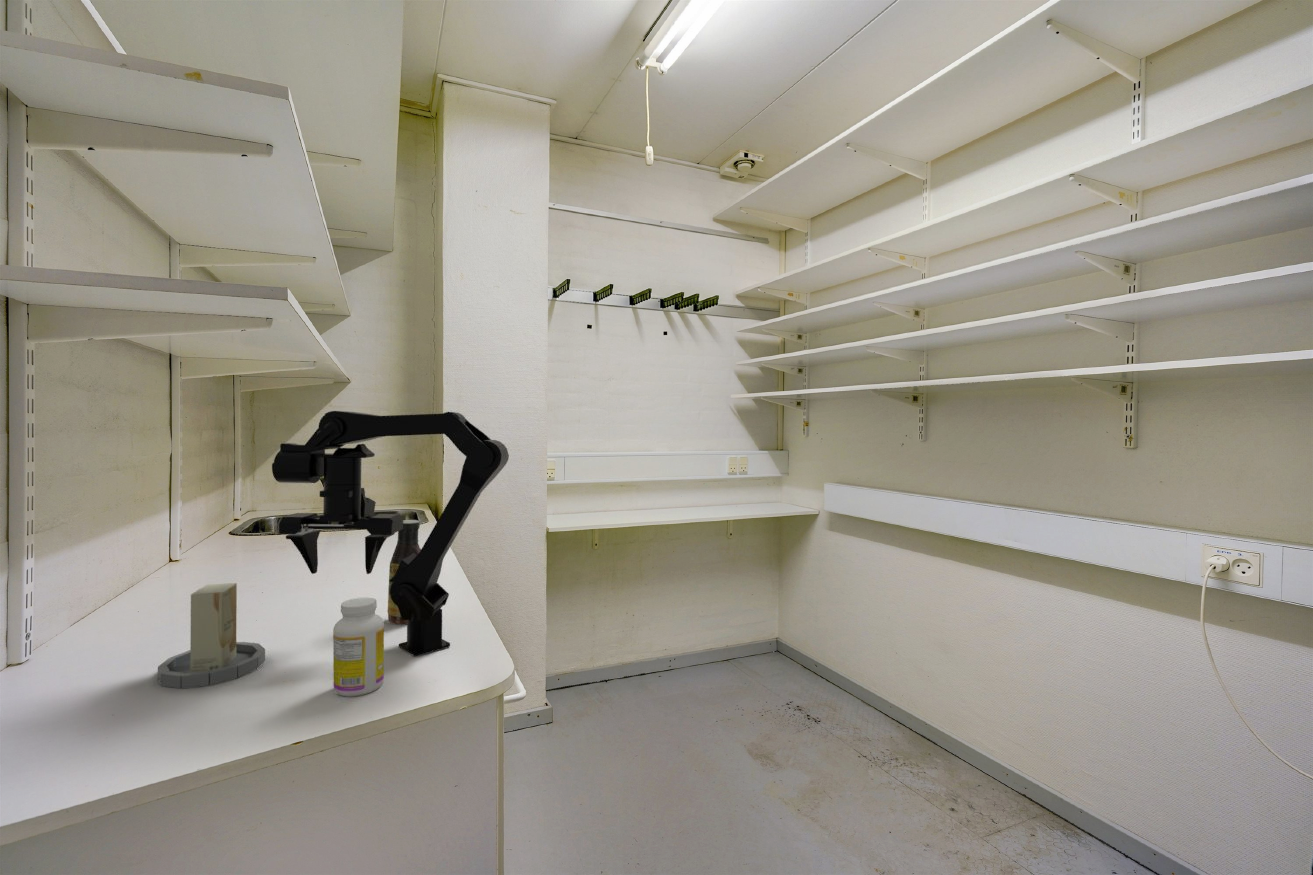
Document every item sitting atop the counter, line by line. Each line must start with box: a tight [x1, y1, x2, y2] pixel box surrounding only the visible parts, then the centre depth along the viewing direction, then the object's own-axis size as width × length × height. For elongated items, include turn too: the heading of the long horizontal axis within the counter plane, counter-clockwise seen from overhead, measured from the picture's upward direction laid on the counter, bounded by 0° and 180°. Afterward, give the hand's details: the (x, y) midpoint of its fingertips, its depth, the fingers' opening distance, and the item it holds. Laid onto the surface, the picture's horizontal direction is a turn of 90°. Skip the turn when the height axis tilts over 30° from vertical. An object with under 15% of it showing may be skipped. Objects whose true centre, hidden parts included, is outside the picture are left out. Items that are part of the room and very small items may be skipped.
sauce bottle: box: [387, 519, 422, 625], centre depth 114 cm, size 6×6×20 cm
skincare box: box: [189, 582, 238, 673], centre depth 91 cm, size 6×4×12 cm
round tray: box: [157, 641, 266, 689], centre depth 91 cm, size 13×13×2 cm
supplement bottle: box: [332, 596, 385, 698], centre depth 85 cm, size 7×7×13 cm
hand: (341, 573), depth 100 cm, fingers open, 9 cm apart
